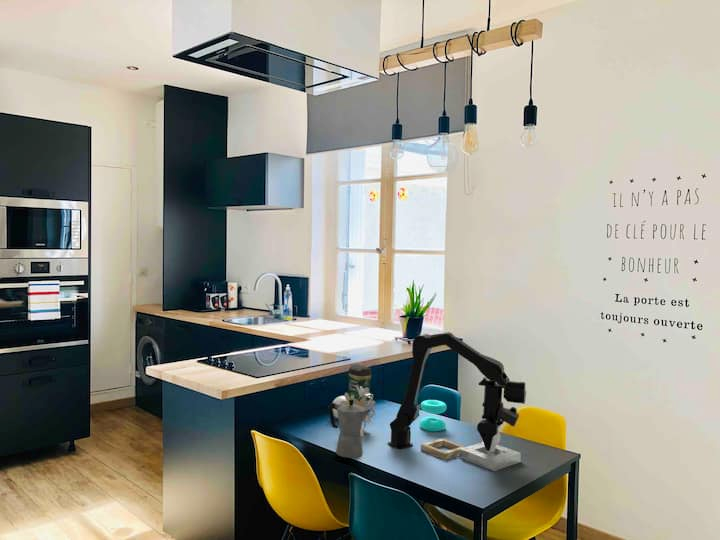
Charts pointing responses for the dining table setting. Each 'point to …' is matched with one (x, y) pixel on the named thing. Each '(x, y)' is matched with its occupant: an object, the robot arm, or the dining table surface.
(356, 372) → the coffee jar
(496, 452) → the socket
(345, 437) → the coffeepot
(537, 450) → the dining table surface
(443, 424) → the donuts
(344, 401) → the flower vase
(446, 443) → the wooden picture frame
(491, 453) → the lightbulb
